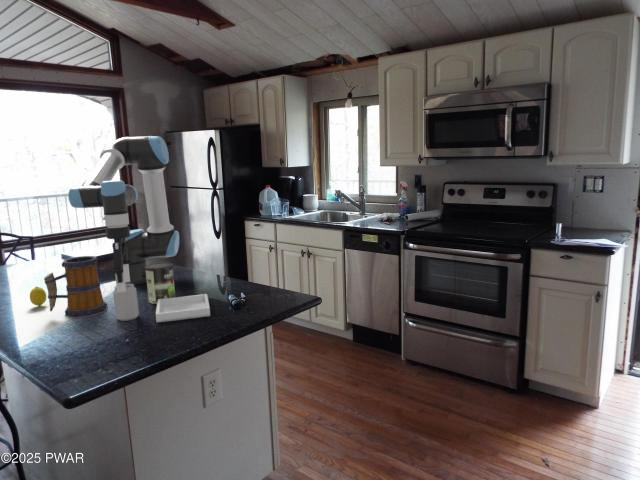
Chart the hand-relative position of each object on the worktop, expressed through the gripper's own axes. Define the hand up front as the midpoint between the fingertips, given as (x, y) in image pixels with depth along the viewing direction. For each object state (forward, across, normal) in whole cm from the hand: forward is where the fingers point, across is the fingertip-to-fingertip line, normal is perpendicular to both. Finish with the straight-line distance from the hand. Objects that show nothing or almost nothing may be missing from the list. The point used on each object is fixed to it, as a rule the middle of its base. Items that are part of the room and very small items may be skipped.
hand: (123, 286), depth 167 cm
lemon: (+12, -28, -35) cm, 47 cm away
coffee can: (+12, -18, +11) cm, 24 cm away
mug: (+12, -14, -18) cm, 25 cm away
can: (+12, 0, 0) cm, 12 cm away
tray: (+12, 0, +19) cm, 22 cm away
